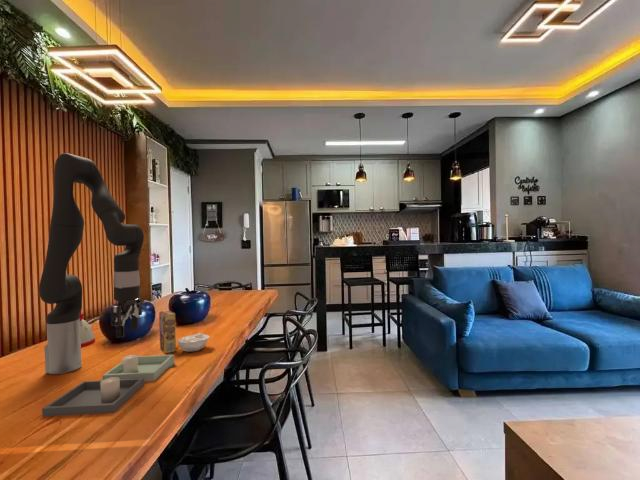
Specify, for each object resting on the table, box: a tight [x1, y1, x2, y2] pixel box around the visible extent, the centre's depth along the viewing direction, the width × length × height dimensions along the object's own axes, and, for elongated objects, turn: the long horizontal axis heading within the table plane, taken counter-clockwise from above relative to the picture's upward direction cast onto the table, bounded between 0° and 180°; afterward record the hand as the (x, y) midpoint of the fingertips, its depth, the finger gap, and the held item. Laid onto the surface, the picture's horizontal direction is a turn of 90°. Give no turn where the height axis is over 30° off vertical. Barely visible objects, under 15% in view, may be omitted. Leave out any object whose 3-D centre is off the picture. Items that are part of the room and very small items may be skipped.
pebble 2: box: [121, 354, 139, 373], centre depth 109 cm, size 4×4×5 cm
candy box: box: [158, 310, 177, 354], centre depth 133 cm, size 9×4×15 cm, turn 39°
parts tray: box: [41, 378, 145, 417], centre depth 91 cm, size 18×16×3 cm
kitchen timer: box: [80, 311, 96, 348], centre depth 144 cm, size 14×14×15 cm
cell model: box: [177, 332, 210, 353], centre depth 131 cm, size 10×12×7 cm
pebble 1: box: [100, 377, 120, 403], centre depth 91 cm, size 4×4×5 cm
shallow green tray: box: [101, 354, 175, 383], centre depth 109 cm, size 16×16×4 cm
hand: (127, 333), depth 108 cm, fingers open, 8 cm apart
